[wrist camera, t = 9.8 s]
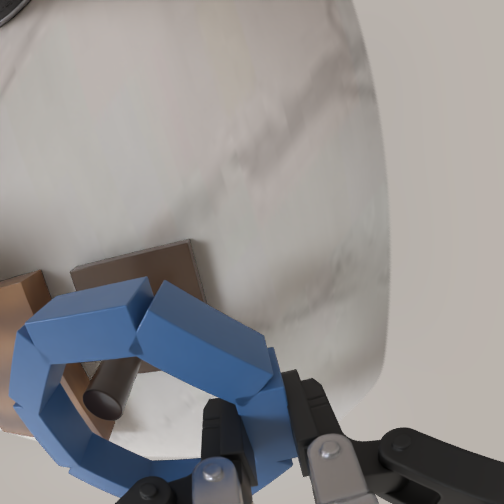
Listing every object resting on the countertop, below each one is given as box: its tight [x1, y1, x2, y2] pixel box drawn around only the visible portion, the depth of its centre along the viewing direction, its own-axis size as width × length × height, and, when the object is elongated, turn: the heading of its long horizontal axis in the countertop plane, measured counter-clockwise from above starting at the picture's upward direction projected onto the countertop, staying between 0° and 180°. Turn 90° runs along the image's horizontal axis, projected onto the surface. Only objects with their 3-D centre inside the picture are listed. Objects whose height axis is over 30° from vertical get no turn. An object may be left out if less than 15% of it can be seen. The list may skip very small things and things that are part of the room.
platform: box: [0, 270, 115, 441], centre depth 20 cm, size 16×16×3 cm
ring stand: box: [70, 239, 207, 421], centre depth 16 cm, size 9×9×10 cm
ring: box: [9, 277, 298, 498], centre depth 10 cm, size 11×11×2 cm
